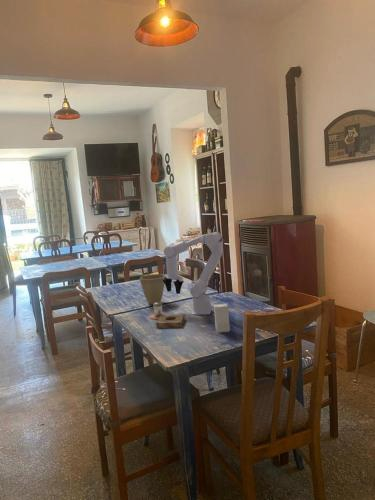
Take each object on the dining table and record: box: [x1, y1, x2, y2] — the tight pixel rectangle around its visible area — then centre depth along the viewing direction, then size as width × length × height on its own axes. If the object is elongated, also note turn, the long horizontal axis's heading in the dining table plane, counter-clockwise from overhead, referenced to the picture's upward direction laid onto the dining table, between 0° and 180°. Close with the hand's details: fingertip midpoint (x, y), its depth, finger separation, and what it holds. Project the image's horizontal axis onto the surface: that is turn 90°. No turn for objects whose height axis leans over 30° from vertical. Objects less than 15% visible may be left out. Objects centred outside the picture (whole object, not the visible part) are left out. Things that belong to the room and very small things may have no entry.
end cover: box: [152, 301, 164, 317], centre depth 198 cm, size 5×5×7 cm
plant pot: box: [139, 273, 165, 305], centre depth 226 cm, size 15×15×16 cm
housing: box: [155, 313, 186, 329], centre depth 187 cm, size 12×12×2 cm
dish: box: [149, 312, 167, 321], centre depth 199 cm, size 9×9×1 cm
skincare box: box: [213, 303, 231, 334], centre depth 171 cm, size 6×4×12 cm
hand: (173, 292), depth 206 cm, fingers open, 7 cm apart
